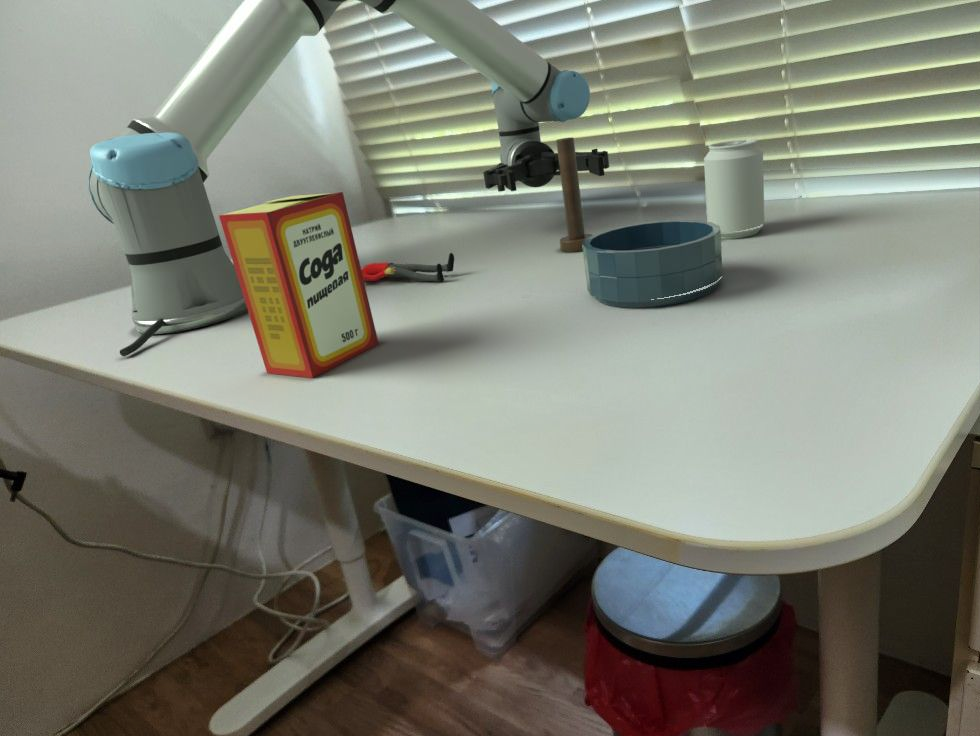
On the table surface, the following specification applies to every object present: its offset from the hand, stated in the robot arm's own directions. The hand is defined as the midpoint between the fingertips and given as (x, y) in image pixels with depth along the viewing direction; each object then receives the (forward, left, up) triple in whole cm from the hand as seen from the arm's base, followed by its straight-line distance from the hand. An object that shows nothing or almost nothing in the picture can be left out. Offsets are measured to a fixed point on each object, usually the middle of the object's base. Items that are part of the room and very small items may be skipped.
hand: (557, 174), depth 111 cm
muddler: (-8, -3, -10) cm, 13 cm away
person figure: (-17, +22, -10) cm, 29 cm away
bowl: (-33, -15, -10) cm, 37 cm away
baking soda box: (-48, +18, -10) cm, 52 cm away
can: (-9, -25, -10) cm, 28 cm away
